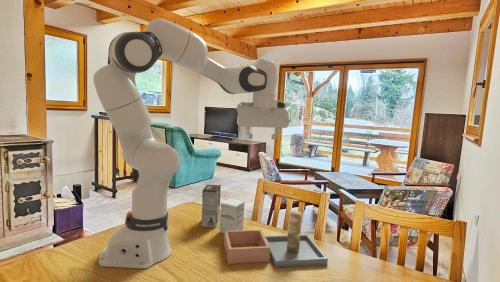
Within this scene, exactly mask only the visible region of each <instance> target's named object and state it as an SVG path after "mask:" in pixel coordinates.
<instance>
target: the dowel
mask: <svg viewBox="0 0 500 282" xmlns="http://www.w3.org/2000/svg"><path fill="white" fill-rule="evenodd" d="M288 213H289V214H288V225H287V226H288V227H287V235H288V239H287V251H288V252H289V253H294V254H295V253H298V252H299V245H300V235H301V230H302V229H301V228H302V217H303V213H302V212H301V211H298V210H290V211H289V212H288Z"/></svg>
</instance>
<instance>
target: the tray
mask: <svg viewBox="0 0 500 282" xmlns="http://www.w3.org/2000/svg"><path fill="white" fill-rule="evenodd" d="M264 236H265V238H266V240H267V242H268V244H269V246H270V259H271V261H272V263H273V266H274V268H275V269H279V268H280V269H281V268H282V269H283V268H296V267H297V268H299V267H316V266H328V260H329V258H328V257H327V256H326V254H325V253H324V252H323V251H322V250H321V249H320V248H319V246H318V245H317V244H316V243H315V241H314V240H313V239H312V238H311V237H310V235H309V234H300V245H299V252H298V253H295V254H294V253H289V252H288V251H287V239H288V234H285V235H264Z"/></svg>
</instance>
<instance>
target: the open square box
mask: <svg viewBox="0 0 500 282" xmlns="http://www.w3.org/2000/svg"><path fill="white" fill-rule="evenodd" d="M223 234H224V238H223V244H224V248H225V249H224V250H225V255H226V260H227V264H228V265H229V264H248V263H262V262H263V263H265V262H267V263H268V262H270V259H271V257H270V246H269V244H268V242H267V240H266V238H265V236H266V235H265V234H264V233H263V231H262V229H243V230H230V231H225V233H223ZM246 244H249V245H250V244H258V245H259V246H240V247H237V246H236V247H232V245H246Z"/></svg>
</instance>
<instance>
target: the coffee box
mask: <svg viewBox="0 0 500 282" xmlns="http://www.w3.org/2000/svg"><path fill="white" fill-rule="evenodd" d="M221 186H222V185H221V184H206V185H205V187H204V188H203V189H202V193H201V194H202V195H201V197H202V198H201V199H202V200H201V201H202V203H201V205H202V206H201V227H202V228H203V227H204V228H214V229H215V228H217V226H218V223H220V213H221V188H222V187H221Z"/></svg>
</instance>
